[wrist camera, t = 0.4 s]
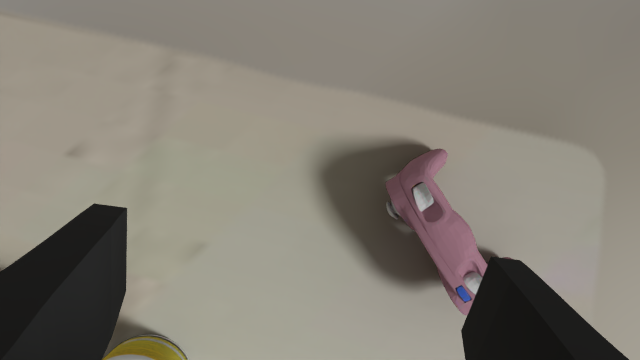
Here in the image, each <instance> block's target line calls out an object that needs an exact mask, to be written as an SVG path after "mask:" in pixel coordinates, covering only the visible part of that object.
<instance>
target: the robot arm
mask: <svg viewBox="0 0 640 360" xmlns="http://www.w3.org/2000/svg"><path fill="white" fill-rule="evenodd" d="M126 249H127V208H123V207H115V206H108V205H100V204H93V205H92V206H90V207H89V208H87V209H86V210H85V211H83V212H82V213H80V214H79V215H78V216H76V217H75V218H74V219H73V220H71V221H70V222H69V223H67V224H66V225H65V226H63V227H62V228H61V229H59V230H58V231H57V232H55V233H54V234H53V235H51V236H50V237H49V238H47V239H46V240H45V241H43V242H42V243H41V244H39V245H38V246H36V247H35V248H34V249H32V250H31V251H29V252H28V253H27V254H25V255H24V256H22V257H21V258H20V259H18V260H17V261H15V262H14V263H13V264H11V265H10V266H8V267H7V268H5V269H4V270H2V271H1V272H0V360H102V358H103V355H104V353H105V351H106V349H107V346H108V344H109V342H110V340H111V337H112V334H113V331H114V328H115V325H116V322H117V319H118V316H119V312H120V309H121V306H122V302H123V299H124V296H125V292H126ZM461 332H462V339H463V346H464V353H465V359H466V360H629V359H628V358H626V357H625V356H624V355H623V354H622V353H621V352H620V351H618V350H617V349H616V348H615V347H614V346H613V345H612V344H611V343H609V342H608V341H607V340H606V339H605V338H604V337H603V336H602V335H600V334H599V333H598V332H597V331H596V330H595V329H594V328H593V327H592V326H591V325H590V324H589V323H587V322H586V321H585V320H584V319H583V318H582V317H581V316H580V315H579V314H578V313H577V312H576V311H575V310H574V309H573V308H571V307H570V306H569V305H568V304H567V303H566V302H565V301H564V300H563V299H562V298H561V297H560V296H559V295H558V294H557V293H556V292H555V291H554V290H553V289H552V288H550V287H549V286H548V285H547V284H546V283H545V282H544V281H543V280H542V279H541V278H540V277H539V276H538V275H537V274H535V273H534V272H533V271H532V270H531V269H530V268H529V267H527V266H526V265H525V264H524V263H523V262H521V261H520V260H513V259H506V258H498V257H491V258H490V260H489V263H488V265H487V268H486V270H485V273H484V275H483V278H482V280H481V283H480V285H479V288H478V290H477V293H476V295H475V298H474V300H473V303H472V305H471V308H470V310H469V313H468V315H467V318H466V320H465V323H464V325H463V328H462V330H461Z"/></svg>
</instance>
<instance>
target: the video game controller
mask: <svg viewBox="0 0 640 360" xmlns="http://www.w3.org/2000/svg"><path fill="white" fill-rule="evenodd" d="M447 156H448V153H447V152H446V151H445V150H443V149H435V150H431V151H429V152H427V153H425V154H422V155H420V156H418V157H417V158H415V159H413V160H412V161H410V162H409V163H408V164H407V165H406V166H405V167H404V168H403V169H402V170H401V171H400V172H399V173H398V174H397V175H396V176H395V177H393V178H392V179H390V180H389V181H387V182H386V189H387V191H388V193H389V196H390V198H391V202H392V205H391V204H390V202H387V203H386V204H387V205H386V206H387V211H388V213H389V214H390V216H392V217H393V218H395V219H398V215H399V216H401V217H402V218H403V220H404V221H405V222H406V223H407V225H408V226H409V227H410V228H411V229H413V230H415V231H416V233H417V234H418V236H419V238H420V240H421V241H422V243H423V245H424V246H425V248H426V250H427V251H428V253H429V255H430V256H431V258H432V259H433V261H434V262H435V264H436V266H437V269H438V273H439V276H440V278H441V281H442V283H443V285H444V287H445V289H446V291H447V293H448V295H449V296H450V298H451V300H452V301H453V303H454V304H455V306H456V307H457V308H458V309H459V311H460V312H461V313H462V314H464V315H467V314H468V313H469V310H470V308H471V305H472V303H473V300H474V298H475V295H476V293H477V290H478V288H479V285H480V283H481V280H482V278H483V275H484V273H485V270H486V268H487V265H488V264H486V262H485V261H484V259H483V257H482V256H481V254H480V253H479V251H478V249H477V246H476V241H475V238H474V236H473V233H472V230H471V229H470V227H469V225H468V224H467V223H466V222H465V220H464V219H463V218H462V217H461V216H460V215H459V214H458V213H456V212H455V211H454V210H453V209H452V208H451V206H450V204H449V203H448V201H447V199H446V198H445V196H444V194H443V193H442V191H441V190H440V189H439V187H438V186H437V184H436V183H435V182H434V180H433V177H434V176H435V174H436V173H437V172H438V171H439V170H440V169H441V168H442V167H443V166H444V164H445V163H446V160H447ZM397 214H398V215H397ZM504 258H506V259H511V258H508V257H504Z"/></svg>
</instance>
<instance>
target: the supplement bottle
mask: <svg viewBox="0 0 640 360" xmlns="http://www.w3.org/2000/svg"><path fill="white" fill-rule="evenodd" d="M102 360H189V359H188V357H187V355H186V354H185V352H184V351H183V350H182V349H181V348H180V347H179V346H178V345H177V344H176V343H175V342H173V341H171V340H170V339H168V338H165V337H162V336H158V335H140V336H136V337H133V338H130V339H128V340H126V341H124V342H122V343H121V344H119V345H118V346H117V347H115V348H114V349H113V350H112V351H111V352H110V353H109V354H108V355H106V356H105V357H104V358H103V359H102Z"/></svg>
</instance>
